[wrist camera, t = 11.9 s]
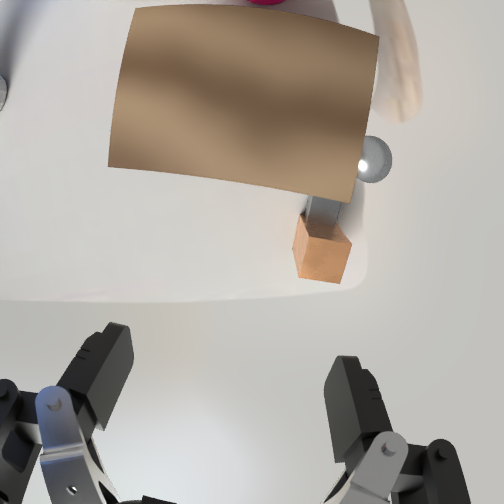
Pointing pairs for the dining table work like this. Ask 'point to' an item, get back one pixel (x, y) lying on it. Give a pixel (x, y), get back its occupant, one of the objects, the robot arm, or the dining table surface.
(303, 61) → the brown wooden block
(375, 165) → the token
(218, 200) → the dining table surface
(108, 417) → the robot arm
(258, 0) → the pepper mill
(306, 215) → the tan grey l-shaped piece
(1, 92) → the water bottle
